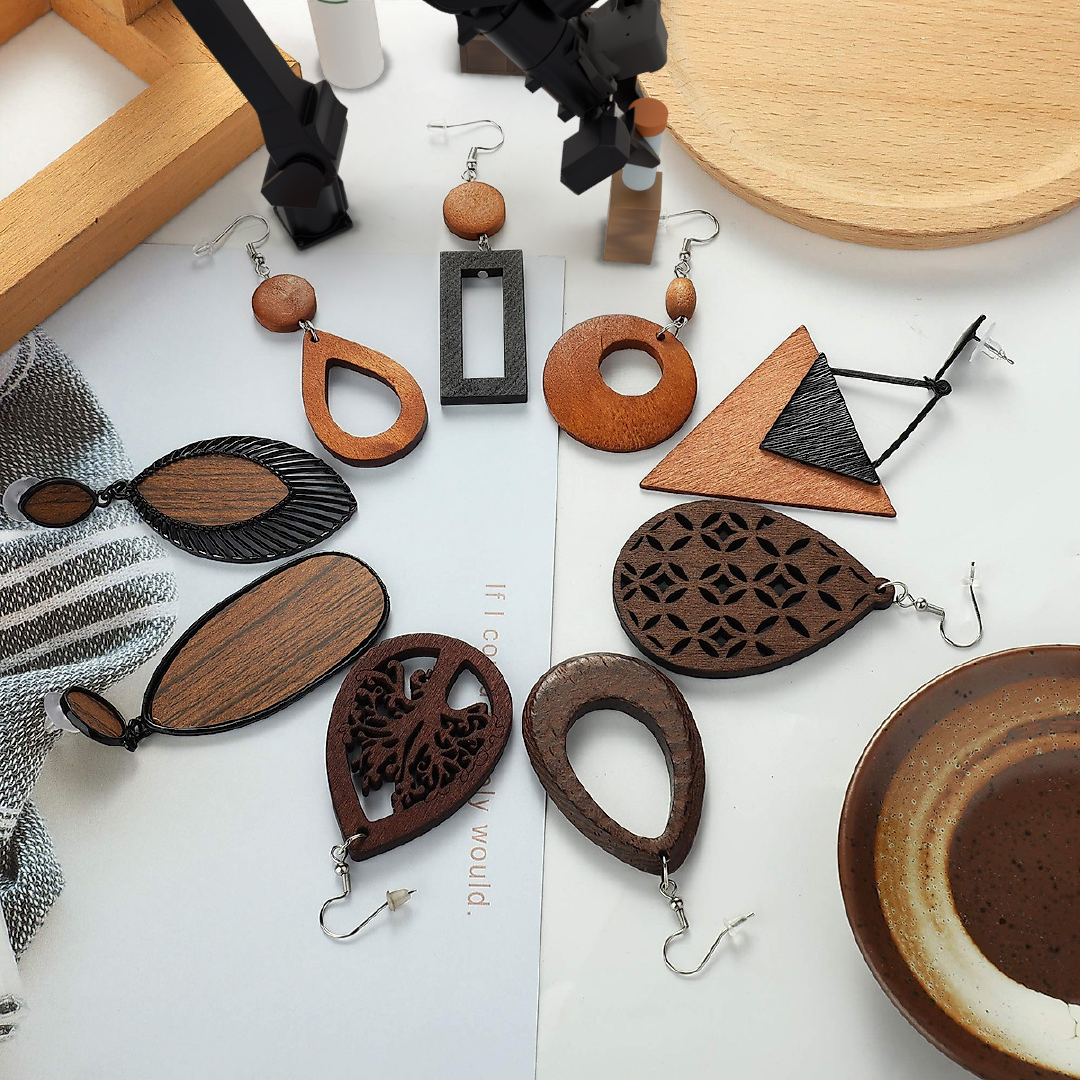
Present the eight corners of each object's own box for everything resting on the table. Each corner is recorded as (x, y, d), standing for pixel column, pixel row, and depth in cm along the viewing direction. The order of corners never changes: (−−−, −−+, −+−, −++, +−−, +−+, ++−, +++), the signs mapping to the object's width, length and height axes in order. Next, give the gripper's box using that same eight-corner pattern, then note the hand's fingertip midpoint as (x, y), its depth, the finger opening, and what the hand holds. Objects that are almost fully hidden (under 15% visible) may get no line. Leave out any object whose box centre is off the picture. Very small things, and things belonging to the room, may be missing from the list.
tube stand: (603, 261, 102) (609, 206, 95) (606, 223, 104) (612, 167, 97) (651, 264, 102) (660, 210, 95) (652, 227, 104) (662, 171, 97)
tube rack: (460, 72, 113) (458, 38, 109) (465, 35, 115) (463, 0, 111) (607, 80, 113) (610, 46, 108) (608, 42, 115) (611, 8, 111)
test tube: (633, 197, 93) (643, 132, 86) (612, 173, 95) (620, 106, 87) (664, 183, 94) (676, 117, 87) (643, 159, 95) (653, 91, 88)
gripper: (610, 67, 72) (729, 187, 82) (622, -97, 80) (730, 32, 90) (506, 141, 80) (627, 243, 89) (526, -15, 87) (636, 95, 97)
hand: (657, 151), depth 91 cm, fingers closed on test tube, 3 cm apart
